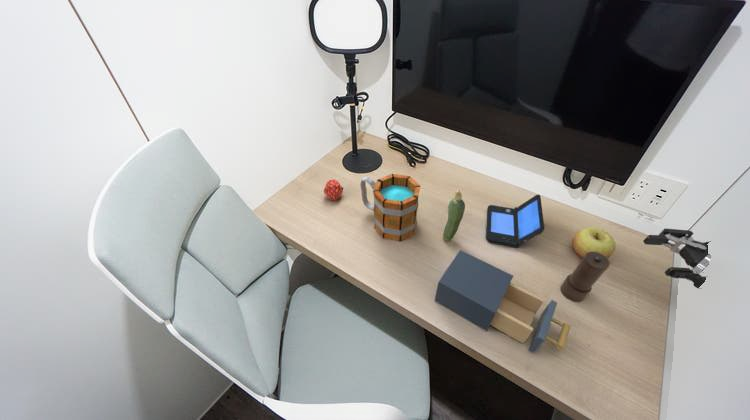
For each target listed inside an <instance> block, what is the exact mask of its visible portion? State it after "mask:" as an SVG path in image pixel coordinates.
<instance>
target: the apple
mask: <svg viewBox="0 0 750 420" xmlns="http://www.w3.org/2000/svg"><path fill="white" fill-rule="evenodd" d="M571 243H572V249H573V251H574V253H575V254H576V255H577V256H578V257H579V258H581V260H582V259H583V258H584V256H585V255H586V254H587V253H588V252H598V253H600V254H602V255H604V256H605V257H606V258H607V259H608V260H609V259H610V258H611V257H612V255H614V253H615V251H616V241H615V239H614V238H613V236H612V235H611V234H610V233H609V232H608V231H606V230H604V229H603V228H602V229H601V228H599V227H593V226H591V227H585V228H582V229H580V230H578V231H577V232H576V233H575V234H574V237H573V239H572V241H571Z"/></svg>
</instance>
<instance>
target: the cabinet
mask: <svg viewBox="0 0 750 420" xmlns="http://www.w3.org/2000/svg"><path fill="white" fill-rule="evenodd" d="M446 268H447V269H446V270H445V271H444V272H443V274H442V276H441V277H440V278H439V280H438V284H437V287H436V290H435V296H434V302H436V303H437V304H439V305H441V306H443V307H444V308H446V309H448V310H450V311H451V312H453V313H455V314H456V315H458V316H460V317H461V318H463V319H465V320H467V322H470V323H472V324H473V325H475V326H477V327H478V328H480V329H482V330H484V331H485V332H487V331H488V329H489V327H490V326H491V325H490V323H491V321H492V319H493V317H494V315H495V313H496V311H497V309H498V307H499V305H500V303H501V301H502V299H503V297H504V295H505V293H506V291H507V289H508V286H509V284H510V282H511V283H512V280H513V279H514V275H513V274H510V272H507V271H505V270H503V269H501V268H498V267H497V266H494V265H492V264H490V263H488V262H486V261H484V260H482V259H480V258H478V257H476V256H474V255H472V254H470V253H468V252H466V251H464V250H461V249H459V251H458V252H457V253H456V255H455V256H454V258H453V259H452V261H451V262H450V264H449V265H448V267H446Z"/></svg>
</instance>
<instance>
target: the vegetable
mask: <svg viewBox="0 0 750 420" xmlns="http://www.w3.org/2000/svg"><path fill="white" fill-rule="evenodd" d="M465 210H466V204H465V201H464V200H463V196H462V192H461V191H460V190H459V189H457V190H456V192H455V193H454V198H452V199H451V200H450V201H449V202H448V206H447V221H446V223H445V225H444V230H443V233H442V239H443V240H444V241H446V242H451V240H453V239H454V237H455V236H456V234H457V232H458V230H459V226H460V224H461V222H462V219H463V217H464V214H465Z"/></svg>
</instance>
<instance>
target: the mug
mask: <svg viewBox="0 0 750 420" xmlns="http://www.w3.org/2000/svg"><path fill="white" fill-rule="evenodd" d="M366 183H367V184H368V185H369V186H370V188H371V189H372V193H373V199H374V200H373V204H372V203H370V201H369V199H368V192H367V191H368V190H367V185H366ZM359 185H360V191H361V200H362V203H363V206H364V207H365V208H367V209H368V210H372V211H373V216H374V226H373V228H374V230H375V231H376V232H377V234H378V235H379V236H380V237H381V238H382V239H383V240H388V241H393V242H402V241H405V240H407V239H409V238H411V237H413V236H415V233H416V227H417V223H418V222H417V215H418V210H419V197H420V191H421V185H420V184H419V183H418V182H417V181H416V180H415V179H414V178H413V177H411V176H410V175H404V174H397V173H391V174H388V175H385V176H383V177H380V178H378V179H376V181H375V180H374V179H373V178H371V177H370V176H363V177H362V178H361V180H360V182H359Z"/></svg>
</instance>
